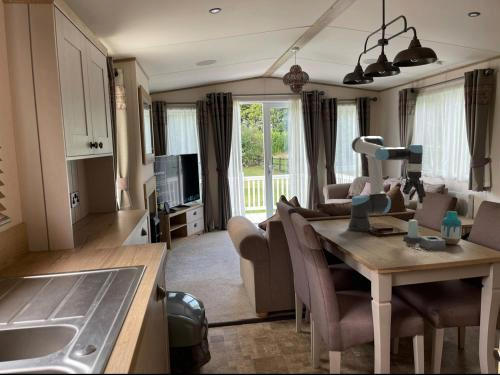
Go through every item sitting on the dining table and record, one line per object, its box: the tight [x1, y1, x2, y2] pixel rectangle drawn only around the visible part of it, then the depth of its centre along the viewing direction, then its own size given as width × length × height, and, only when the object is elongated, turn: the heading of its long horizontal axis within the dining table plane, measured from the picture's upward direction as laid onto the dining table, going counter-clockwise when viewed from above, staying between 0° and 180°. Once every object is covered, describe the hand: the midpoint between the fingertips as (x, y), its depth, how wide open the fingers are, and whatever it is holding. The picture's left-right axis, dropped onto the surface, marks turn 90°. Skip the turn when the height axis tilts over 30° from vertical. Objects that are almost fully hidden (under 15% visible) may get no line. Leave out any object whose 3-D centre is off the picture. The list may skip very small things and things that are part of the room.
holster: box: [403, 234, 420, 244], centre depth 236 cm, size 8×8×2 cm
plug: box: [407, 219, 419, 238], centre depth 235 cm, size 4×4×13 cm
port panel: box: [418, 235, 446, 250], centre depth 222 cm, size 10×10×6 cm
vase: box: [440, 210, 463, 245], centre depth 227 cm, size 11×11×19 cm
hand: (413, 206), depth 230 cm, fingers open, 13 cm apart
